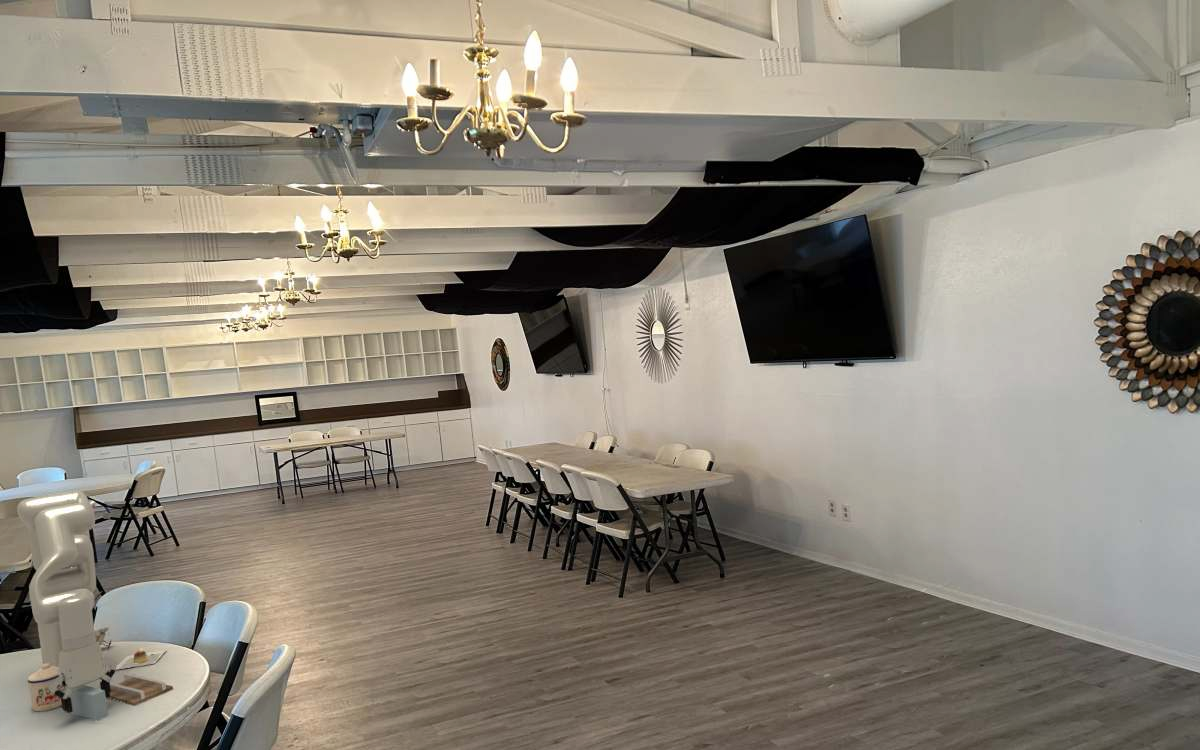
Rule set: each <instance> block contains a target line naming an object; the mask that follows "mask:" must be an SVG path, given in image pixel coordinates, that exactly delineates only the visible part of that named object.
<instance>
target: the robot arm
mask: <svg viewBox="0 0 1200 750" xmlns="http://www.w3.org/2000/svg"><path fill="white" fill-rule="evenodd" d="M16 510H17V512H16V513H17V516H18V518H19V519H20V521H21V522H22V524H23V525H24V527H25V528H26V529H27V530H28V534H29V540H30V541H29V542H30V543H29V544H30V553H31V560H32V566H33V568H34V569H35V573H34V575H33V576H32V579H31V581H30V583H29V586H28V589H29V590H28V592H29V600H30V606H31V609H32V615H33V619H34V620H35V622H36V623H37V631H38V636H39V645H40V651H41V653H40V654H41V659H42V661H41V662H42V665H43V664H47V663H49V664H50V666H55V667H59V677H58V678H57V679H55V680H54V681H53V682H52V683H51V684H50V685H49V686H48V689H49V690H50V691H51V692H52V693H53V695H56V696H58V697H60V698H61V703H62V705H61V709H62V710H63V712H65V713H69V714H70V713H71V712H72V711H73V709H72V702H71V697H69V694H70V693H71V691H72V689H73V688H76V687H79V686H82V685H87V684H90V683H92V682H94V681H97V680H101V681H100V682H99V687H100V689H101V690H104V691H105V696H106V697H110V692H111V689H110V682H111V681H112V678H113V676H114V674H115V673H116V670H115V669H116V666H117V665H118V662H117V661H114V660H109V659H107V660H106V659H105V656H104V654H103V653H104V652H103V651H102V647H101V645H99V642H98V641H96V637H97V636H100V632H99V631H97V630H95V625H94V619H93V616H94V615H93V611H92V610H93V608H94V607H95V596H94V592H95V590H96V587H97V576H96V565H95V564H96V563H95V555H94V553H95V552H94V548H93V543H92V541H91V539H90V537H89V536H88V535H85V534H77V533H80V532H85V531H90V530H93V528H94V527H95V525H96V524H95V523H96V516H95V515H96V514H95V511H94V508H93V505H92V504H91V502H90V500H89V499H88V497H87V495H86V494H85V493H84V492H83V491H82V490H73V491H66V492H60V493H55V494H47V495H41V496H35V497H30V498H25V499H23V500H21V501H20V502H19V503H18V505H17V507H16ZM75 533H76V535H75ZM106 666H109V668H108V669H107V668H106ZM59 684H60V686H61V687H63V688H62V690H61V691H59V690H58V689H57V686H58V685H59ZM71 714H72V713H71Z"/></svg>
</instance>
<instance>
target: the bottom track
mask: <svg viewBox="0 0 1200 750" xmlns="http://www.w3.org/2000/svg"><path fill="white" fill-rule="evenodd" d="M110 689H111V692H110V697H108V698H107V699H109V698H111V699H110V700H112V699H115V700H114V701H116V700H118V701H117V702H120V701H122V702H121V703H123V702H125V703H124V704H127V703H129V704H128V705H130V704H132V705H131V706H134V705H135V706H137V705H139V704H141V702H142V703H144V702H146V701H148V699H149V700H150V699H153V698H156V697H159V696H160V695H163V694H165V693H167V692H170V691H171V690H173V689H174V686H173V685H168V684H166V682H165V681H161V680H158V679H157V680H156V679H153V678H149V677H144V676H141V675H138V674H137V675H136V674H132V673H128V672H126V673H123V681H121V682H118V683H114V682H111V681H110ZM143 701H144V702H143ZM138 703H139V704H138ZM136 704H137V705H136Z"/></svg>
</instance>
